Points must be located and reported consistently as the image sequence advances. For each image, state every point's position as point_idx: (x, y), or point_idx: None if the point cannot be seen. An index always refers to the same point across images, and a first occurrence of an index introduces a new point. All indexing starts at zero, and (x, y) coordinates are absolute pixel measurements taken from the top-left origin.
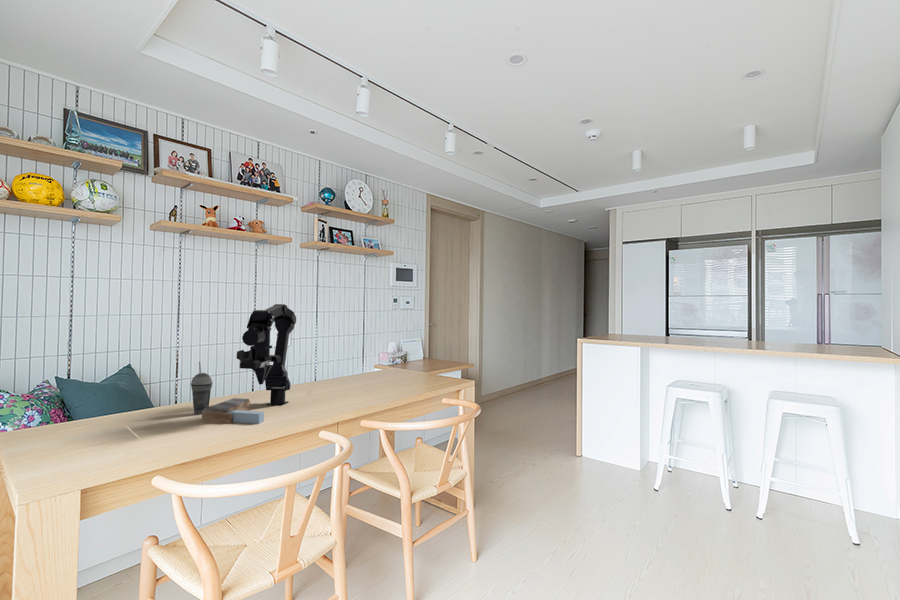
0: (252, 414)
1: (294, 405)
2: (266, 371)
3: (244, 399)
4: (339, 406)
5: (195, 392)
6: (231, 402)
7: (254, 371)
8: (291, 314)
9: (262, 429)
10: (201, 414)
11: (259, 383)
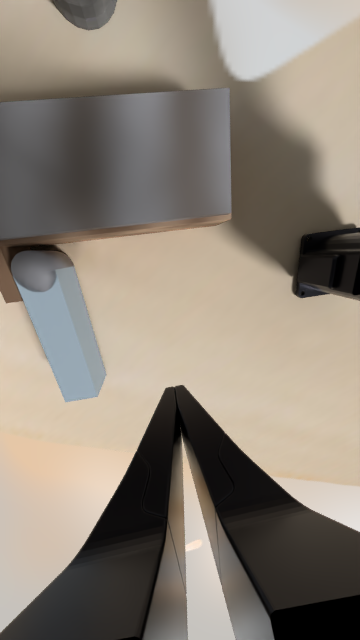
0: (58, 378)
1: (313, 327)
2: (219, 568)
3: (210, 198)
4: (311, 433)
5: None
6: (122, 174)
7: (85, 543)
8: None
9: (50, 412)
10: (58, 8)
11: (165, 395)
